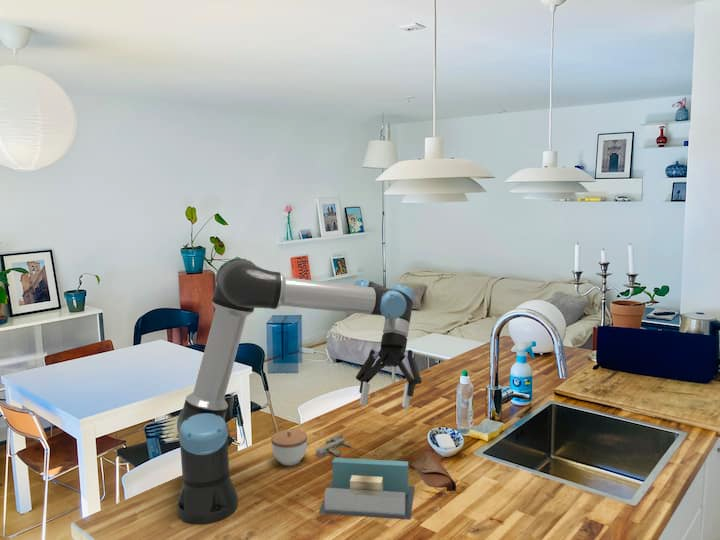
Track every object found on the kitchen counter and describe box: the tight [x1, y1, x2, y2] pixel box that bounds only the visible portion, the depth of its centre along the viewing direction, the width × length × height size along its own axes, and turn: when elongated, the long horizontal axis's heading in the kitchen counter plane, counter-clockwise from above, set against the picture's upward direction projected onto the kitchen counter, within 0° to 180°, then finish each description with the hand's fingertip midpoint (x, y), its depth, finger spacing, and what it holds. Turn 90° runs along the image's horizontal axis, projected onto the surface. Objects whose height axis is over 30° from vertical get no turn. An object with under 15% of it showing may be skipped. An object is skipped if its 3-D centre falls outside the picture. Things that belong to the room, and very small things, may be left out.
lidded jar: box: [270, 428, 308, 466], centre depth 175 cm, size 11×11×9 cm
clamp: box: [315, 432, 352, 459], centre depth 183 cm, size 15×2×10 cm
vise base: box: [318, 480, 416, 520], centre depth 150 cm, size 23×16×6 cm
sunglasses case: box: [408, 451, 457, 492], centre depth 163 cm, size 18×7×7 cm, turn 14°
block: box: [350, 475, 383, 491], centre depth 147 cm, size 8×3×7 cm, turn 81°
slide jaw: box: [331, 457, 410, 495], centre depth 154 cm, size 20×2×8 cm, turn 81°
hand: (383, 406), depth 163 cm, fingers open, 13 cm apart
